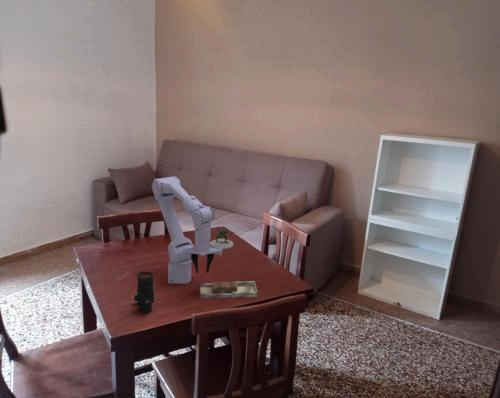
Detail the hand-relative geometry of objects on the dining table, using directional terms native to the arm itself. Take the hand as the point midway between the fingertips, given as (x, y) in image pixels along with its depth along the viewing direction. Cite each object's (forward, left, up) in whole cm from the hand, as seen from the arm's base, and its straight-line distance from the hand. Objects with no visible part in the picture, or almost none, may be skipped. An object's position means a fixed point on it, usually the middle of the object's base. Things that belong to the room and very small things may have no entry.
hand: (202, 271), depth 149 cm
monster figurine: (+10, +49, -10) cm, 51 cm away
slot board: (+10, 0, -9) cm, 14 cm away
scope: (-20, -10, -10) cm, 24 cm away
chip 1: (+6, 0, -9) cm, 11 cm away
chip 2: (+11, 0, -9) cm, 14 cm away
